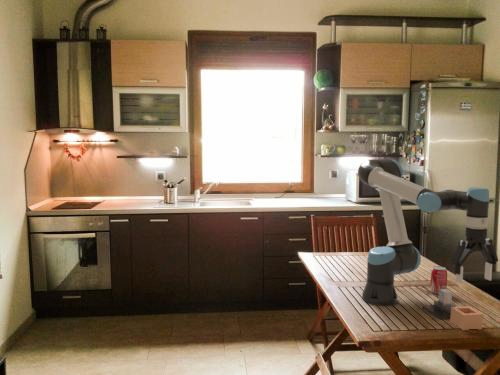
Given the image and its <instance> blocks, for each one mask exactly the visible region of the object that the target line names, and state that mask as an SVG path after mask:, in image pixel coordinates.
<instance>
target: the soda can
mask: <svg viewBox="0 0 500 375" xmlns="http://www.w3.org/2000/svg"><path fill="white" fill-rule="evenodd" d="M429 285H430V291H431V292H432V293H433V294H436V295H439V289H448V288H447V287H448V286H447V285H448V271H447V268H446V267H444V266H439V265H438V266H437V265H434V266H432V269H431V272H430V284H429Z"/></svg>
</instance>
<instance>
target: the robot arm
mask: <svg viewBox="0 0 500 375" xmlns="http://www.w3.org/2000/svg"><path fill="white" fill-rule="evenodd" d="M402 167H403V166H402V165H401V164H400V162H398V161H397V160H395V159H392V158H391V159H390V158H381V159H379V158H378V159H373V158H371V159H367V160H364V161H363V162H362V163H361V164H360V165H359V167H358V170H357V175H358V179H359V180H360V181H361V182H362V183H363V184H365V185H366V186H369V187H371V188H374V189H375V191H377V192H378V193H379V197H380V198H379V199H380V203H381V208H382V214H383V217H384V218H383V219H384V224H385V228H386V233H387V238H388V243H387V244H386V246H376V247H372V248H370V249H369V251H368V253H367V259H366V261H367V269H366V271H367V272H366V284H365V286H364V288H363V290H362V292H361V293H362V295H361V297H362V300H363V301H364V302H366V303H368V304H370V305H374V306H385V307H387V306H388V307H389V306H394V305H396V304H397V303H398V295H397V291H396V288H395V287H396V286H395V285H394V284H395V276H399V275H403V274H409V273H412V272H414V271H416V270H417V269H418V268H419V266H420V265H421V261H422V260H421V259H422V258H421V252H420V251H419V249H417V248H416V247H415V246H414V244H413V242H412V240H410V239H409V237H408V234H407V233H408V232H407V227H406V223H405V218H404V213H403V208H402V203H401V199H403V200H405V201H408V202H410V203H412V204H415V205H417V207H418V208H419V209H420V211H422V212H426V213H434V212H441V211H449V210H458V211H466V217H465V226H466V227H465V232H464V233H465V237H466V240H462V239H459V241H458V245H457V248H456V250H455V251H454V254H453V256H452V258H451V261H450V264H452V265H454V266H455V267H454V273H455V281H456V282H457V283H459V284H463V279H464V266H463V264H465V263H464V262H466V260H467V259H468V257H469V256H470V254H473V252H475V253H476V252H480V253H481V255H482V256H483V258H484V259H485V260H486V262H485V264H484V279H485V280H487V281H492V277H493V276H492V275H493V274H492V273H493V271H494V265H496V264H497V262H499V258H498V255H497V253H496V251H495V250H496V249H495V248H494V245H493V244H494V243H493V242H494V240H493V239H492V238H488V226H489V225H488V222H489V206H490V190H489V188H487V187H476V186H475V187H468V188H467V191H462V190H454V189H442V190H441V191H434V190H431V189H429V188H428V187H424V186H422V185H420V184H417V183H414V182H412V181H410V180H406V179H404V178H403V175H404V171H403V168H402ZM400 198H401V199H400Z"/></svg>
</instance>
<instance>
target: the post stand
mask: <svg viewBox="0 0 500 375" xmlns="http://www.w3.org/2000/svg"><path fill="white" fill-rule="evenodd" d="M452 299H453V291H451V290H450V289H448V288H446V289H439V294H438V300H433V303H434V304H429V305H428V304H427V305H426V304H423V309H425V311H427V312H428V313H430V314H432V316H434V317H436V318H437V319H438V318H439V319H438V320H442V319H441V318H448V319H450V317H451V307H457V305H455V304H454V303H452Z"/></svg>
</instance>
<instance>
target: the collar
mask: <svg viewBox="0 0 500 375" xmlns="http://www.w3.org/2000/svg"><path fill="white" fill-rule="evenodd" d="M483 315H484V313H481V311H478V310H477V309H475V308H474V307H472V306H470V305H467V306H456V307H451V317H450V318H449V320H450V321H451V322H452V323H451V322H450V321H449V322H450V323H451V324H453V323H454V324H455V325H454V324H453V325H454V326H456V325H457V326H458V327H460V328H461V329H462V330H461V329H460V328H459V329H460V330H461V331H470V330H469V329H478V330H482V329H483V318H484V316H483ZM457 326H456V327H457ZM458 327H457V328H458Z"/></svg>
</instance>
